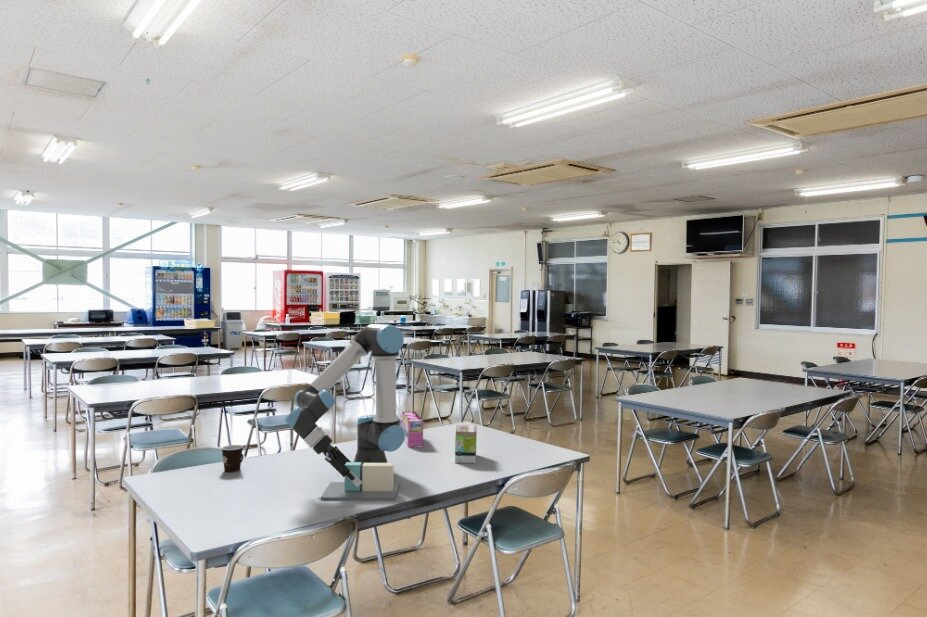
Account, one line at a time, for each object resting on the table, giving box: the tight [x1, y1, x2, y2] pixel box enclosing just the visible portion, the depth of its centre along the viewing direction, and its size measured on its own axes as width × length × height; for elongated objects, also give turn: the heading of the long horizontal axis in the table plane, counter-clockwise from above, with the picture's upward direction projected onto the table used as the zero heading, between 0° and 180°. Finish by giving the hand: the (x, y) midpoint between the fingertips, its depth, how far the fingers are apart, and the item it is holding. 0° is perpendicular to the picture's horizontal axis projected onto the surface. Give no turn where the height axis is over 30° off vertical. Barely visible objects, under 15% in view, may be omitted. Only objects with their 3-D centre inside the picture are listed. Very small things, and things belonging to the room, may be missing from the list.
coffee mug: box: [221, 444, 244, 473], centre depth 257 cm, size 12×9×10 cm
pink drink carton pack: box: [401, 411, 424, 448], centre depth 312 cm, size 24×8×14 cm, turn 14°
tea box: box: [454, 424, 478, 464], centre depth 280 cm, size 15×10×15 cm, turn 179°
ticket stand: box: [320, 462, 400, 501], centre depth 232 cm, size 28×18×11 cm, turn 91°
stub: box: [344, 461, 362, 491], centre depth 232 cm, size 6×4×10 cm, turn 91°
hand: (361, 482), depth 232 cm, fingers closed on ticket stand, 4 cm apart
